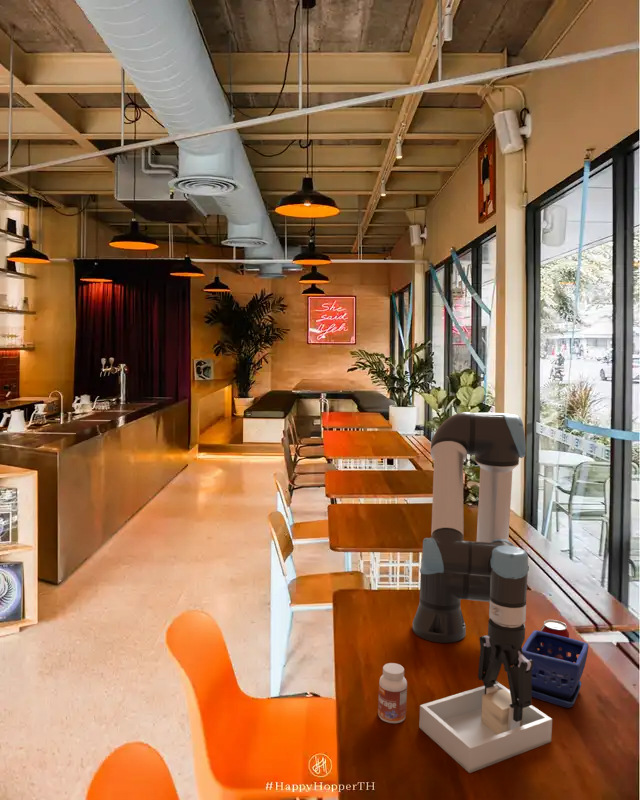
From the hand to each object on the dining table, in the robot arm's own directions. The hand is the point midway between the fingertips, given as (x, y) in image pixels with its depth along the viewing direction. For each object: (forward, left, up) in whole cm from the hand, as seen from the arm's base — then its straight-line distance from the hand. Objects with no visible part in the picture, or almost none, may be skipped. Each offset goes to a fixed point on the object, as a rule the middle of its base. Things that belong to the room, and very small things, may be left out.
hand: (502, 724), depth 132 cm
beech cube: (0, 0, 0) cm, 0 cm away
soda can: (-13, +30, -1) cm, 33 cm away
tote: (0, -5, -1) cm, 5 cm away
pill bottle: (-14, -19, -1) cm, 24 cm away
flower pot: (-5, +21, -1) cm, 22 cm away
